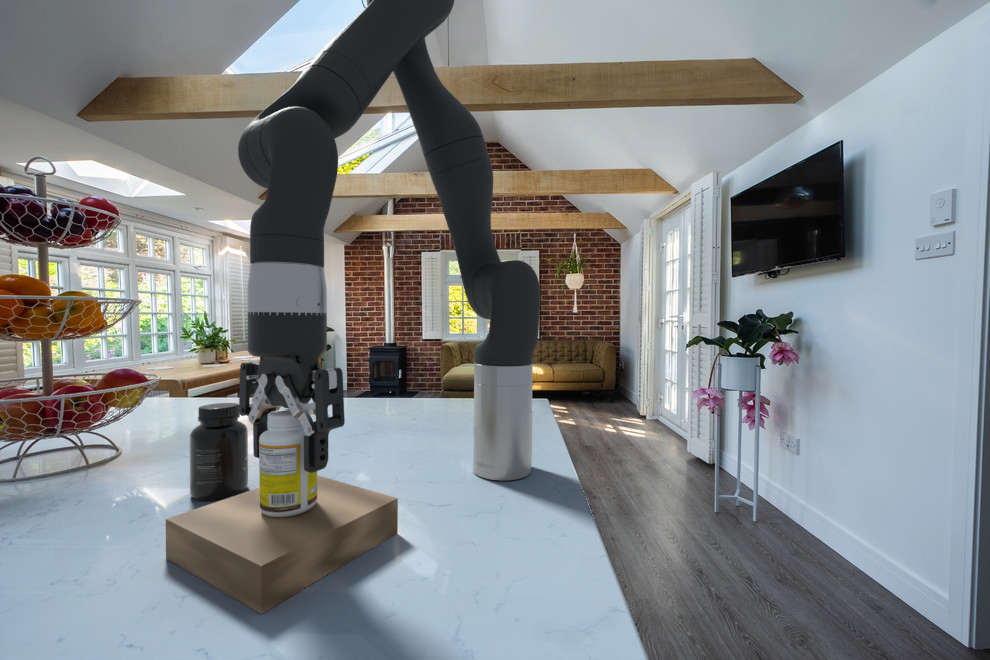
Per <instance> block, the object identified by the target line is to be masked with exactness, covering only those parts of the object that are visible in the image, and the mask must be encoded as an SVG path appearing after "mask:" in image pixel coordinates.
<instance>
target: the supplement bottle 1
mask: <svg viewBox="0 0 990 660" xmlns="http://www.w3.org/2000/svg"><path fill="white" fill-rule="evenodd" d="M239 418H241V415H240V413H239V403H238V402H237V403H235V402H222V403H211V404H210V403H209V404H205V405H204V404H203V405H202V406H201V405H200V406H199V407H198V417H197V421H198V423H199V422H200V424H199V425H197V426H195V428H194V429H192V431H191V432H190V434H189V491H190V492H189V493H190V496H191V498H193V499H194V500H198V501H214V500H217V501H218V500H224V499H227V498H230V497H233V496H236V495H239V494H242V493H243V492H244V491H245V490H246V489H247V487H248V485H249V435H248V431H249V430H248V427H247V425H246V424H245V423H243V422H241V421H239Z"/></svg>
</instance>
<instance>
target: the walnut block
mask: <svg viewBox="0 0 990 660" xmlns="http://www.w3.org/2000/svg"><path fill="white" fill-rule="evenodd" d="M398 502H399V498H398V497H395V496H391V495H388V494H384V493H380V492H377V491H373V490H370V489H367V488H365V487H364V488H363V487H361V486H356V485H353V484H349V483H346V482H343V481H338V480H336V479H332V478H329V477H326V476H325V477H324V476H322V475H318V474H317V502H316V504H315V505H314V506H313V507H312V508H311V509H309V510H307V511H306V512H303V513H301V514H298V515H294V516H289V517H270V516H267V515H265V514H263V513H262V511H261V509H260V487H258V488H254V489H251V490H248V491H245V492H241V493H239V494H236V495H234V496H231V497H227V498H223V499H220V500H219V501H218V500H217V501H216V502H212V503H209V504H206V505H203V506H201V507H198V508H194V509H191V510H189V511H186V512H183V513H179V514H176V515H173V516H171V517H167V518H165V559H166V560H168V561H169V562H171V563H173V564H174V565H176V566H178V567H179V568H182V569H183V570H184V571H186V572H188V573H190V574H191V575H194V576H195V577H197V578H198V579H199V580H201V581H204V582H205V583H206V584H209V585H210V586H212V587H214V588H216V589H217V590H218V591H221V592H222V593H224V594H225V595H227V596H229V597H231V598H232V599H235V600H236V601H238V602H240V603H241V604H243V605H245V606H247V607H248V608H249V609H252V610H253V611H255V612H256V613H259V614H260V615H263V614H264V613H266V612H267V611H270V610H271V609H273V608H274V607H276V606H277V604H278V605H279V604H282V602H285V601H286V600H288V599H291V597H292V596H295V595H296V594H298V593H301V591H304V590H305V589H306V588H308V587H310V586H311V585H313V584H314V582H315V583H316V582H318V581H320V580H322V579H323V578H324V576H325V577H327V576H328V575H330V574H332V573H334V572H335V571H336V570H338V569H340V568H342V567H343V566H345V565H346V564H348V563H350V562H352V561H353V560H355V559H357V558H358V557H360V556H362V555H363V554H365V553H367V552H368V551H371V550H372V549H374V548H375V547H378V546H379V545H381V544H382V543H384V542H386V541H387V540H388V539H390V538H392V537H394V536H395V535H397V534H398V532H399V531H398V528H399V527H398V525H399V522H398V520H399V519H398V518H399V517H398V516H399V515H398V514H399V511H398V509H399V503H398ZM329 573H330V574H329ZM327 574H328V575H327ZM326 575H327V576H326ZM322 577H323V578H322ZM321 578H322V579H321ZM317 580H318V581H317ZM312 583H313V584H312ZM304 588H305V589H304Z"/></svg>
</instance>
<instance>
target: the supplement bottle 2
mask: <svg viewBox="0 0 990 660" xmlns="http://www.w3.org/2000/svg"><path fill="white" fill-rule="evenodd" d="M267 425H268V426H267V428H268V430H267V431H265V432H263V433H262V434H261V435H260V437H259V458H258V462H259V463H258V464H259V467H258V468H259V469H258V471H259V488H260V509H261V511H262V513H263V514H265V515H267V516H270V517H289V516H294V515H298V514H301V513H303V512H306V511H307V510H309V509H311V508H312V507H313V506H314V505H315V504H316V502H317V475H318V471H316V472H313V473H310V472H307V471H305V470H304V436H305V435H306V434H305V432H304V430H303V427H302V425H301V423H300V421H299V419H298V418H295V417H294V416H292V414H291V412H290V409H288V408H283V409H279V410H277V411H273V412H270V413H269V414H268V421H267Z"/></svg>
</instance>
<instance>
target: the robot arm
mask: <svg viewBox="0 0 990 660" xmlns="http://www.w3.org/2000/svg"><path fill="white" fill-rule="evenodd" d="M365 2H366V7H365V8H364V9H363V10H362V11H361V12H360V13H359V14H358V15H357V16H356V17H355V18H354V19H352V21H351V22H350V23H349V24H347V25H346V26H345V27H344V28H343V29H342V30H341V31H340V32H339V33H338V34H337V35H336V36H335V37H334V38H333V39H332V40H331V41H330V42H328V43H327V44H326V46H324V47H323V49H322V50H321V51H320V52H319V53H318V54H317V55H316V56H315V57H314V59H313V60H312V61H311V62H310V63H309V65H308V66H307V67H306V68H305V69H304V70H303V71H302V73H301V74H300V76H299V77H298V78H297V80H296V81H295V82H294V83H293V84H292V85H291V86H290V87H289V88H288V89H287V90H286V91H285V92H284V93H282V94H281V95H280V96H279V97H278V98H277V99H275V100H274V101H273V102H272V103H271V104H269V105H268V106H267V107H266V108H264V110H263V111H261V112H260V113H259V114H258V115H256V117H254V118H253V120H251V122H250V123H248V125H247V126H246V127H245V129H244V130H243V132H242V133H241V135H240V138H239V141H238V146H237V147H238V148H237V154H238V160H239V163H240V166H241V169H242V170H243V172H244V173H245V175H246V176H247V177H248V178H249V179H250V180H251V181H252V182H254V183H255V184H256V185H258V186H260V187H262V188H264V189H266V190H267V193H266V198H265V200H264V202H263V203H262V204H261V205H260V206H259V207H257V209H255V211H254V212H253V213H252V216H251V220H250V226H249V228H250V229H249V237H250V238H249V263H250V264H249V274H248V275H249V276H248V281H247V352H248V353H249V355H251V356H253V357H259V360H255V361H252V360H251V361H246V362H241V364H240V366H239V367H240V368H239V392H238V393H239V396H238V397H239V398H238V399H239V400H238V402H239V403H238V404H239V413H240V417H241V416H242V417H245V416H247V417H248V422H249V423H250V425H251V424H252V426H253V427H252V429H253V430H252V435H253V436H252V439H253V442H252V445H253V447H252V448H253V457H254V458H257V459H259V437H260V435H261V434H262V433H263V432H265V431H267V430H268V428H267V426H268V425H267V421H268V414H269V413H270V412H273V411H277V410H281V408H283V409H290V412H291V414H292V416H294V417H295V418H298V419H299V421H300V423H301V425H302V427H303V430H304V432H305V434H306V435H305V436H304V470H305V471H307V472H310V473H313V472H316V471H317V472H318V471H322V470H325V468H326V467H327V466H328V462H329V435H330V432H331V431H332V430H334V429H339V428H342V427H344V425H345V422H346V421H345V419H346V418H345V401H344V400H345V399H344V398H345V397H344V396H345V395H344V376H343V374H344V373H343V370H342V369H341V367H332V368H323V369H322V368H321V366H320V362H319V358H320V356H321V355H323V354H325V353H326V352H327V350H328V315H327V313H328V309H327V308H328V303H327V302H328V300H327V298H328V296H327V295H328V294H327V293H328V292H327V281H326V275H325V226H326V221H327V218H328V216H329V213H330V208H331V204H332V201H333V197H334V196H333V195H334V191H335V186H336V181H337V178H338V170H339V153H338V146H337V142H336V139H337V138H339V137H341V136H343V135H345V134H346V133H347V132H349V131H350V130H351V129H352V128H353V127H354V126H355V125H356V124H357V122H358V121H359V120H360V118H361V117H362V116H363V114H364V113H365V111H366V110H367V108H368V107H369V106H370V104H371V103H372V102H373V100H374V99H375V98H376V96H377V95H378V93H379V92H380V90H381V89H382V88H383V86H384V85H385V83H386V82H387V81H388V79H389V78H390V77H391V75H392V73H393V75H394V76H395V79H396V82H397V83H398V85H399V86H398V87H399V89H400V91H401V93H402V96H403V99H404V102H405V104H406V108H407V110H408V113H409V116H410V118H411V121H412V124H413V126H414V127H413V128H414V130H415V131H416V136H417V139H418V142H419V145H420V149H421V151H422V155H423V157H424V161H425V164H426V166H427V170H428V173H429V176H430V178H431V181H432V183H433V186H434V187H433V188H434V189H435V191H436V194H437V197H438V201H439V203H440V206H441V209H442V213H443V216H444V219H445V222H446V225H447V228H448V231H449V233H450V236H451V241H452V244H453V247H454V251H455V255H456V260H457V265H458V269H459V272H460V277H461V283H462V286H463V291H464V294H465V296H466V300H467V303H468V304H469V306H470V308H471V309H472V311H473V312H474V314H476V315H477V316H479V317H480V318H482V319H485V320H487V321H488V320H489V327H488V328H489V330H488V334H487V335H486V336H485V338H484V339H483V341H480V342H479V343H477V345H476V346H475V348H474V356H473V357H474V360H473V361H474V365H473V367H474V368H473V369H474V370H473V371H474V373H473V376H474V379H473V380H474V382H473V384H474V385H473V386H474V387H473V468H472V469H473V473H474V474H475V475H476V476H478V477H480V478H484V479H487V480H493V481H514V480H515V481H516V480H520V479H524V478H526V477H528V476H529V475H530V474H531V473H532V466H533V465H532V463H533V458H532V457H533V360H534V359H533V358H534V357H533V356H534V352H535V350H536V349H537V344H538V341H539V330H540V312H541V286H540V282H539V281H540V280H539V278H538V275H537V273H536V271H535V269H534V268H533V267H532V266H531V265H530V264H528V263H527V262H525V261H523V260H520V259H518V260H517V259H512V260H504V261H503V260H502V261H501V259H500V256H499V253H498V250H497V247H496V243H495V239H494V236H493V233H492V224H491V223H492V222H491V220H492V219H491V218H492V206H493V205H492V204H493V195H494V193H493V192H494V172H493V171H494V170H493V166H492V165H493V164H492V163H491V158H490V155H489V154H490V153H489V151H488V148H487V144H486V142H485V138H484V135H483V133H482V129H481V126H480V124H479V123H478V120H476V118H475V117H474V115H473V114H472V113H471V111H469V109H467V108H466V107H465V105H464V104H462V103H461V102H460V100H458V98H456V97H455V95H453V94H452V93H451V92H450V91H449V89H448V88H446V86H445V85H444V84H443V83H442V81H441V80H440V79H439V76H438V75H437V74H438V73H437V72H436V71H435V67H434V65H433V62H432V59H431V57H430V54H429V51H428V47H427V43H426V37H428V36H429V35H430V34H431V33H432V32H434V31H435V30H436V29H437V28H439V27H440V26H441V25H442V24H443V23H444V22H445V21H446V20H447V19H448V17H449V16H450V14H451V13H452V9H453V6H454V5H455V0H366V1H365ZM252 394H253V396H252V398H250V396H251V395H252ZM250 399H251V401H250ZM311 400H312V402H310V401H311ZM250 402H251V403H250ZM329 406H331V407H332V408H331V410H332V412H331V413H332V416H329ZM312 415H314V416H315V421H314V420H313V418H312Z"/></svg>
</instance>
